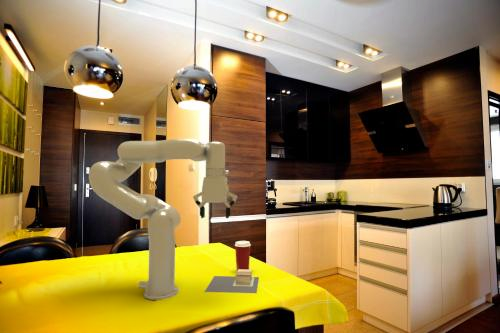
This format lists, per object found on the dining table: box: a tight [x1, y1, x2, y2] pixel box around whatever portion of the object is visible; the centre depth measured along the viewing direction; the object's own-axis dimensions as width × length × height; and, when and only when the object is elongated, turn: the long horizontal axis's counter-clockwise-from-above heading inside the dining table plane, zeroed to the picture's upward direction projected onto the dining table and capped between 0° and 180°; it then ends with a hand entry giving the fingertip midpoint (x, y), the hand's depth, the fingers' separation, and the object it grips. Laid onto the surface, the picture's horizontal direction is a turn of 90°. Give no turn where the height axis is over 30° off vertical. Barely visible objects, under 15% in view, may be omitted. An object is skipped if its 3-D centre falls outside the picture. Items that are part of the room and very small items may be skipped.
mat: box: [204, 275, 260, 294], centre depth 112 cm, size 20×18×1 cm
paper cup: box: [234, 240, 252, 272], centre depth 128 cm, size 8×8×14 cm
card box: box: [235, 269, 253, 285], centre depth 115 cm, size 9×6×4 cm, turn 175°
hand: (215, 217), depth 106 cm, fingers open, 9 cm apart
